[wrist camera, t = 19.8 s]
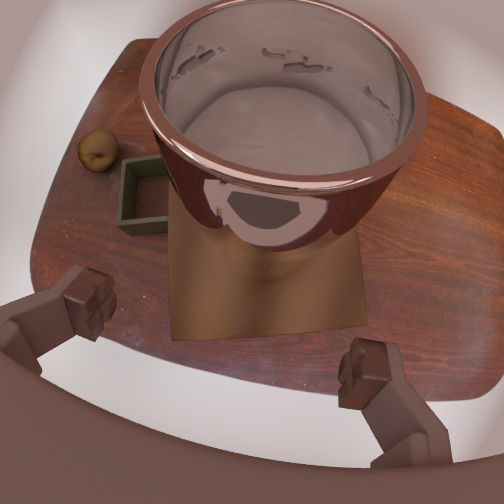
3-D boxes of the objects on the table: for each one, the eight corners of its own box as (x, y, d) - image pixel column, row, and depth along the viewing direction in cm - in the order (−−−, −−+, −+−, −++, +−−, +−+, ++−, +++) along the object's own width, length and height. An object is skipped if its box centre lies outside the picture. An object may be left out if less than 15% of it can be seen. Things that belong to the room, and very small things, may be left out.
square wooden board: (174, 339, 20) (171, 340, 19) (172, 164, 22) (169, 158, 21) (362, 324, 20) (368, 325, 19) (338, 155, 23) (341, 149, 22)
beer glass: (207, 193, 21) (150, 2, 6) (307, 185, 21) (378, 1, 6) (214, 294, 19) (111, 223, 5) (321, 283, 20) (477, 198, 5)
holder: (130, 235, 49) (116, 225, 43) (134, 174, 52) (122, 159, 46) (195, 230, 49) (188, 218, 43) (195, 167, 52) (189, 150, 46)
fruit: (86, 180, 51) (67, 162, 44) (95, 144, 53) (78, 123, 45) (120, 178, 51) (102, 157, 44) (128, 140, 53) (113, 117, 45)
